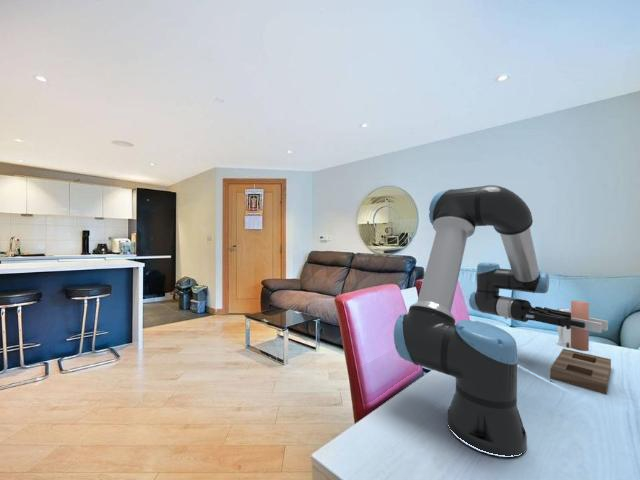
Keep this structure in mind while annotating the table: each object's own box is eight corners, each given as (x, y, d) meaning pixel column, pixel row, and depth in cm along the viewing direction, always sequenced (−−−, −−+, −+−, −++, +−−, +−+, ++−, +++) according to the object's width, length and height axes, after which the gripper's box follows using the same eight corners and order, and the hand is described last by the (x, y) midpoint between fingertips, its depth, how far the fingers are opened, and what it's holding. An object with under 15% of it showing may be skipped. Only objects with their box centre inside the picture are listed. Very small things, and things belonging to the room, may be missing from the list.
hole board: (606, 398, 77) (606, 383, 77) (550, 381, 86) (550, 368, 86) (610, 371, 93) (610, 359, 93) (563, 359, 102) (563, 348, 102)
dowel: (581, 351, 83) (581, 303, 83) (567, 346, 87) (567, 300, 87) (592, 350, 83) (592, 303, 83) (578, 345, 87) (578, 300, 87)
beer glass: (555, 343, 118) (555, 307, 118) (577, 347, 114) (577, 310, 114) (556, 348, 112) (557, 310, 112) (580, 352, 108) (580, 313, 108)
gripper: (526, 316, 105) (615, 335, 85) (501, 322, 97) (592, 345, 76) (527, 296, 105) (615, 310, 84) (501, 300, 97) (592, 317, 76)
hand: (604, 326), depth 80 cm, fingers closed on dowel, 4 cm apart
